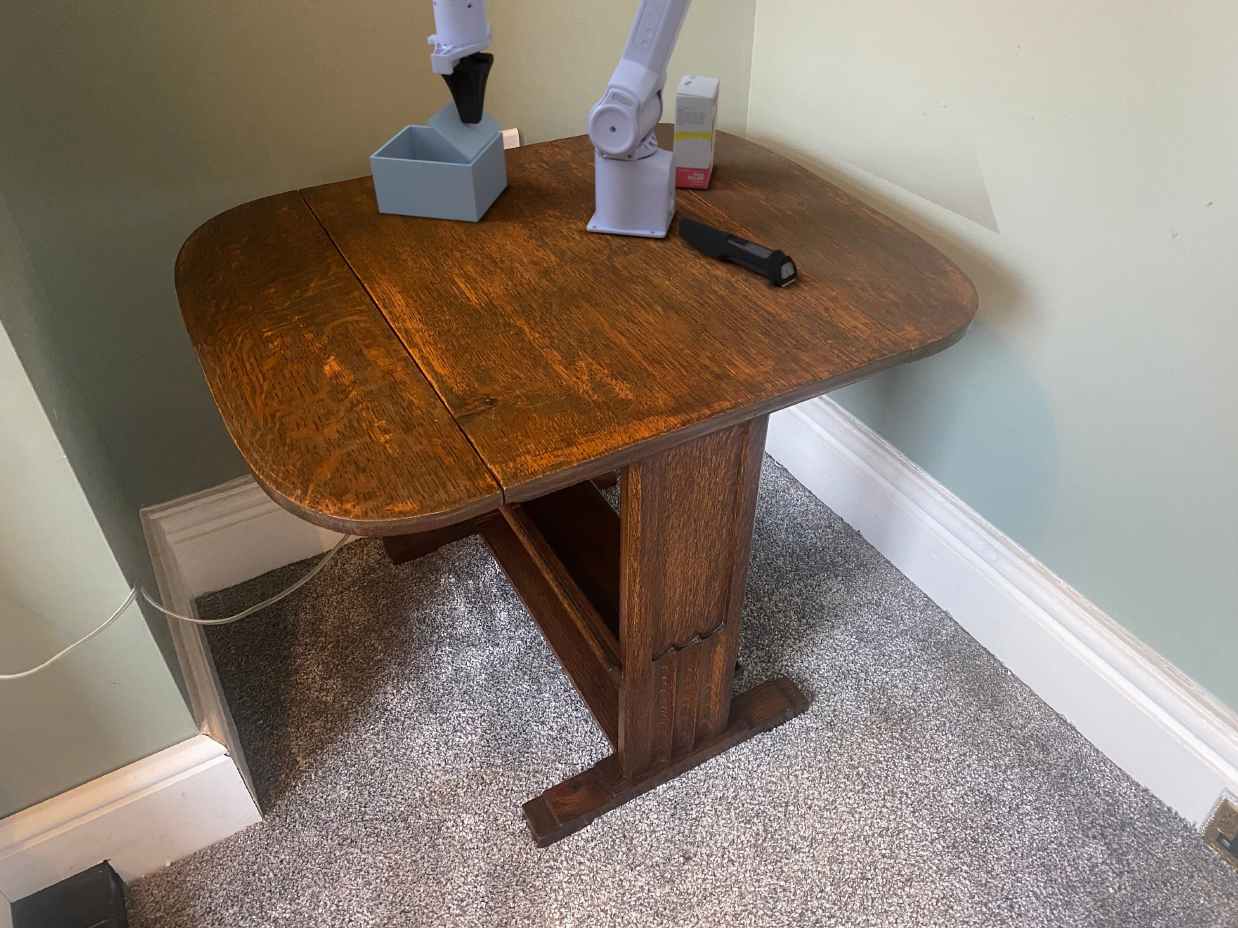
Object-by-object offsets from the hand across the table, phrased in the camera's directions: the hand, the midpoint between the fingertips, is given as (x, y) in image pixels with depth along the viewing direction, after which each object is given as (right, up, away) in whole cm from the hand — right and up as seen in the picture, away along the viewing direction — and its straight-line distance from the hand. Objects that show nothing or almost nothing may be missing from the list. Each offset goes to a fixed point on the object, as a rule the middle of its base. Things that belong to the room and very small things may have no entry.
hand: (471, 122), depth 102 cm
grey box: (-5, -7, +7) cm, 11 cm away
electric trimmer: (+31, -18, -6) cm, 36 cm away
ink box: (+28, -2, +13) cm, 31 cm away
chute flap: (-1, 0, 0) cm, 1 cm away
